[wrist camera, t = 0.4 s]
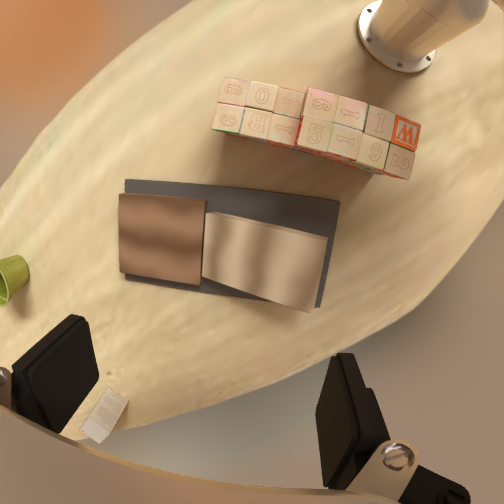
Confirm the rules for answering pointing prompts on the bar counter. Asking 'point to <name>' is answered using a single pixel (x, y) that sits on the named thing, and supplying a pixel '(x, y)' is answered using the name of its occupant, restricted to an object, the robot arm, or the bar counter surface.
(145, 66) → the bar counter surface
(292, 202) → the underlay mat
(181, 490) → the robot arm
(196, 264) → the laid board
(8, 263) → the plant pot
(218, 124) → the stack of blocks
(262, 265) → the plank
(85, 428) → the small box
